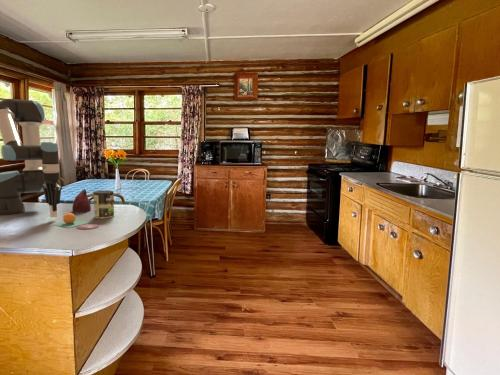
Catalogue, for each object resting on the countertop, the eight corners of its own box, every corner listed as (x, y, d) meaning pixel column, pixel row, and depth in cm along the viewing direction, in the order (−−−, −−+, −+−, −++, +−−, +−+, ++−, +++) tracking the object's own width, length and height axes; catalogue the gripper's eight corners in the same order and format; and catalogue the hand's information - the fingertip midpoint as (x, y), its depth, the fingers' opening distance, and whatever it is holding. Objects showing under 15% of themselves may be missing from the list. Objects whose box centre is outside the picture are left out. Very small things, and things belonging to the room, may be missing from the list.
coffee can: (118, 215, 191) (117, 190, 189) (107, 219, 181) (106, 193, 179) (102, 214, 193) (101, 189, 191) (90, 218, 183) (89, 192, 181)
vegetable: (93, 215, 204) (100, 191, 203) (80, 216, 195) (86, 191, 193) (81, 209, 208) (87, 186, 206) (67, 210, 198) (73, 186, 196)
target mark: (52, 225, 166) (52, 224, 166) (74, 220, 177) (74, 219, 177) (68, 228, 161) (68, 227, 161) (90, 223, 172) (90, 222, 172)
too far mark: (71, 227, 162) (71, 227, 162) (89, 223, 171) (89, 223, 171) (85, 230, 157) (85, 230, 157) (103, 226, 166) (103, 225, 166)
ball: (64, 227, 167) (59, 218, 168) (74, 224, 172) (69, 215, 173) (69, 221, 165) (64, 211, 166) (79, 218, 170) (74, 210, 171)
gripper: (35, 172, 171) (38, 217, 175) (52, 173, 166) (54, 220, 169) (50, 171, 178) (52, 214, 181) (66, 172, 172) (68, 217, 176)
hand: (53, 217), depth 175 cm, fingers closed
